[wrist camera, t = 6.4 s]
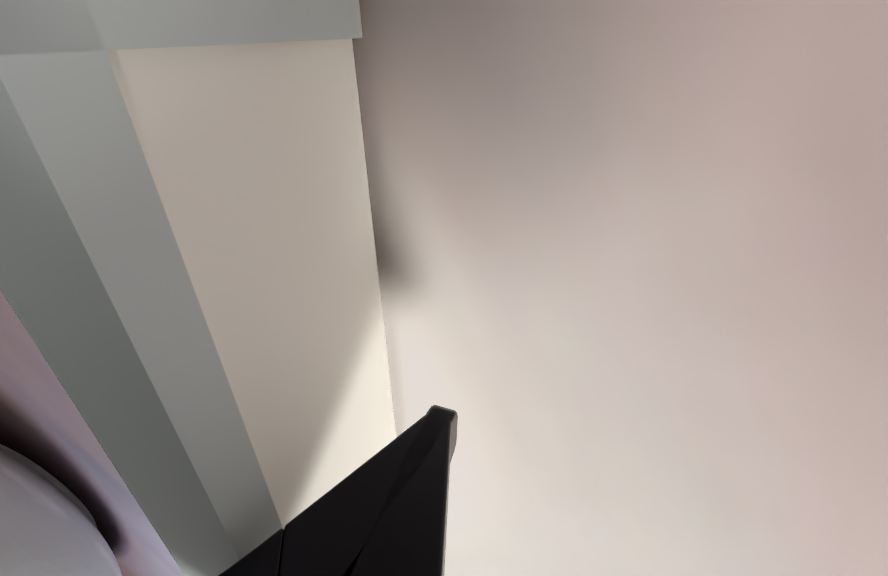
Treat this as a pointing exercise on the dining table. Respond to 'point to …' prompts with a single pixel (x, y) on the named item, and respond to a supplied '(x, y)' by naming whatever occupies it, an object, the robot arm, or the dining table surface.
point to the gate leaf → (198, 250)
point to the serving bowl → (46, 525)
